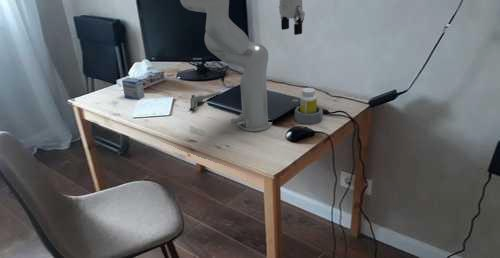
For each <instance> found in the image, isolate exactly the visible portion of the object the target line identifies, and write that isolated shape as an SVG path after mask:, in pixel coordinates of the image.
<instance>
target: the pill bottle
mask: <svg viewBox="0 0 500 258" xmlns="http://www.w3.org/2000/svg"><path fill="white" fill-rule="evenodd" d="M315 92H316V91H315V89H314V88H313V87H305V88H302V89H301V95H300V98H299V99H300V101H299V102H300V103H299V106H300V112H301V113H303V114H314V113H316V108H317V95H316V94H315Z"/></svg>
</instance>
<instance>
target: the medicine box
mask: <svg viewBox="0 0 500 258" xmlns="http://www.w3.org/2000/svg"><path fill="white" fill-rule="evenodd" d="M121 84H122V88H123V94H124V98H125V99H128V100H137V101H140V100H141V99H143V98H144V97H145V91H144V85H143V79H142V78H133V77H127V78H124V79H122V80H121Z"/></svg>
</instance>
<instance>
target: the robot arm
mask: <svg viewBox="0 0 500 258" xmlns="http://www.w3.org/2000/svg"><path fill="white" fill-rule="evenodd" d="M179 1H180V4H181V5H182V7H183V8H184V9H187V10H188V11H190V12H191V11H192V12H197V13H198V12H199V13H206V20H205V33H204V44H205V47H206V48H207V50H208V51H209V52H210V53H211V54H213V55H214V56H215V57H217V58H218V59H219V60H221V61H222V62H223V63H225V64H226V65H229V66H232V67H236V68H239V69H243V74H242V75H241V78H240V81H239V84H240V85H239V86H240V97H241V98H240V100H241V113H239V116H238V117H236V118H232V119H230V125H236V126H239V128H240V129H242V130H243V131H246V132H261V131H262V132H263V131H265V130H267V129H269V128H270V127H272V126H273V121H272V122H268V117H269V115H268V93H267V91H268V90H267V89H268V87H267V69H268V61H269V50H267V48H266V47H265V46H264V45H262V44H260V43H257V42H253V41H250V39H249V37H248V35H247V34H246V32H244V31H243V29H241V28H240V27H239V26H237V25H236V23H234V22H233V21H232V20H231V18H230V17H229V6H230V0H179ZM278 10H279V11H278V12H279V15H280V20H281V21H280V23H281V24H280V25H281V26H280V27H281V30H288V29H290V19H293V21H294V24H293V34H294V35H295V36H296V35H302V34H303V23H304V20H305V16H306V13H305V11H304V10H303V0H279V6H278Z"/></svg>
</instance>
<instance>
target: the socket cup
mask: <svg viewBox="0 0 500 258" xmlns="http://www.w3.org/2000/svg"><path fill="white" fill-rule="evenodd" d="M323 111H324V109H323V108H322V107H321V106H319V105H317V108H316V113H314V114H303V113H301V112H300V105H297V106H296V108H295V109H294V119H295V121H296V122H297V123H299V124H302V125H315V124H316V125H317V124H318V123H321V122H322V121H323V115H324V112H323Z"/></svg>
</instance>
